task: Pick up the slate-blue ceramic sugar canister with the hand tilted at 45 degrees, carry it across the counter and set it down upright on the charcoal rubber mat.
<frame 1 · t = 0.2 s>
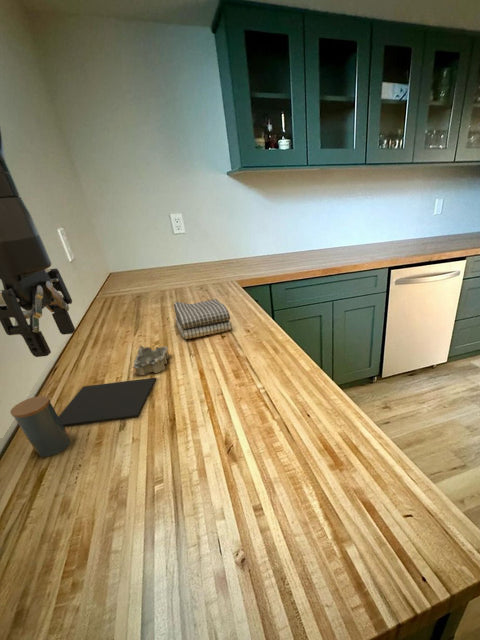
hand: (56, 343, 54), 20 cm above the table, tool pointing down, fingers open, 8 cm apart
egg carton: (154, 365, 88), on the table
sugar canister: (54, 446, 62), on the table
towel: (204, 328, 109), on the table
counter mat: (109, 401, 74), on the table
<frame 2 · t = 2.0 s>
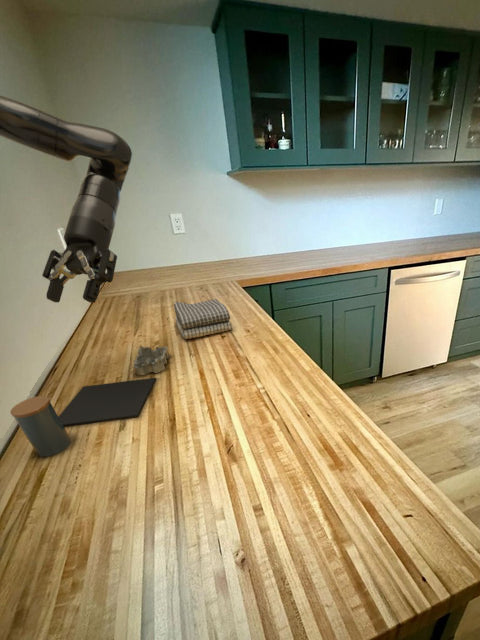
hand: (70, 300, 64), 23 cm above the table, tool tilted 45°, fingers open, 8 cm apart
nothing on the table moved.
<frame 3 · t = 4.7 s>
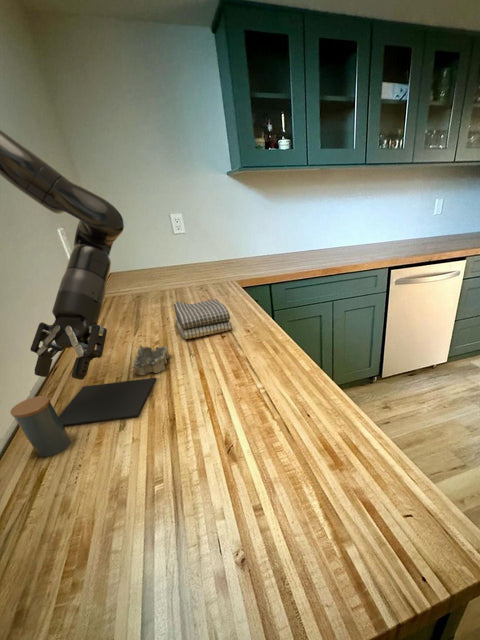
hand: (58, 377, 63), 11 cm above the table, tool tilted 45°, fingers open, 8 cm apart
nothing on the table moved.
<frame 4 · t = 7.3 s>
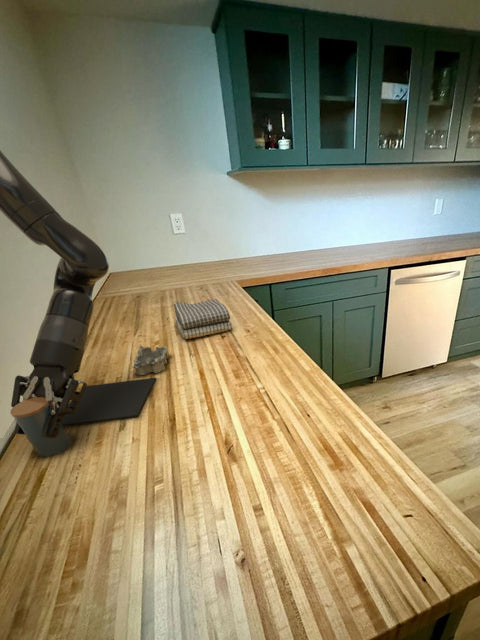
hand: (35, 435, 59), 4 cm above the table, tool tilted 45°, fingers closed on sugar canister, 5 cm apart
sugar canister: (54, 446, 62), on the table, touching gripper
everything else where it was.
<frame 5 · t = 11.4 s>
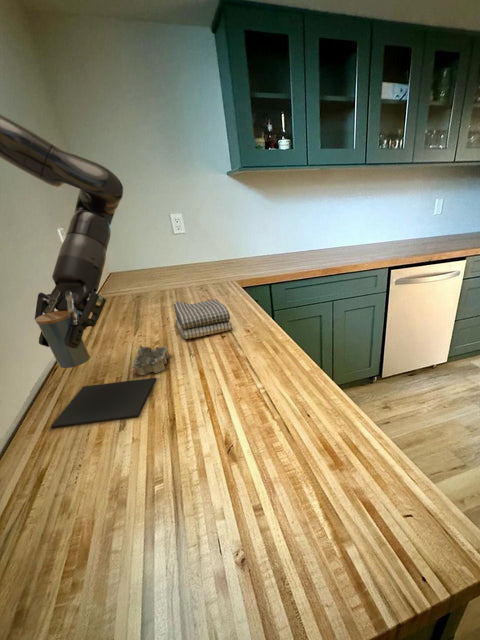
hand: (58, 345, 62), 16 cm above the table, tool tilted 45°, fingers closed on sugar canister, 5 cm apart
sugar canister: (75, 361, 66), point 12 cm above the table, touching gripper
everything else where it was.
when the fingers open (5 cm above the table, at t = 15.4 s): sugar canister stays where it is, resting on counter mat.
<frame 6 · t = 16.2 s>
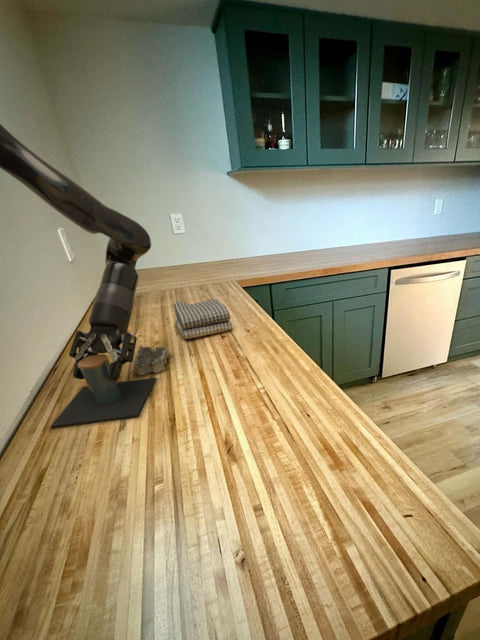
hand: (95, 379, 71), 6 cm above the table, tool tilted 45°, fingers open, 8 cm apart
sugar canister: (109, 398, 75), point 1 cm above the table, touching counter mat
everything else where it was.
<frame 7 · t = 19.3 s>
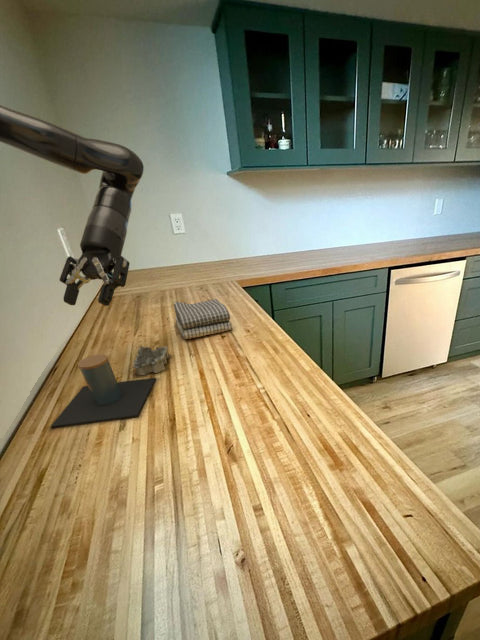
hand: (86, 304, 69), 21 cm above the table, tool tilted 45°, fingers open, 8 cm apart
nothing on the table moved.
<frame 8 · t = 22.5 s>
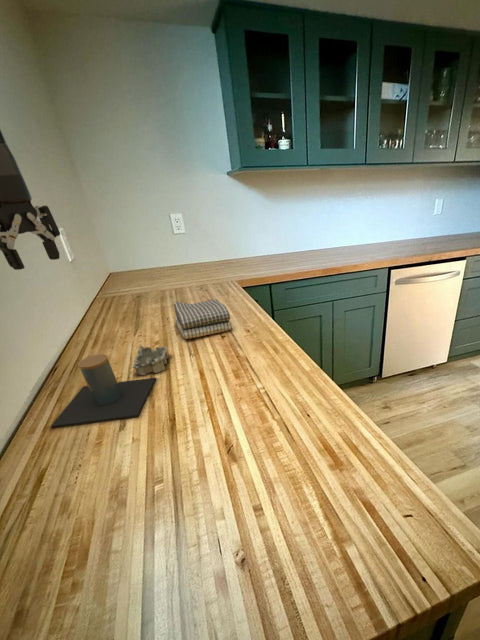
hand: (38, 264, 70), 28 cm above the table, tool pointing down, fingers open, 8 cm apart
nothing on the table moved.
at the end: sugar canister inside the target area on the counter mat (0.6 cm from its centre), point 0.6 cm above the counter mat's base; sugar canister tilted 0°; the gripper is holding nothing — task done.
